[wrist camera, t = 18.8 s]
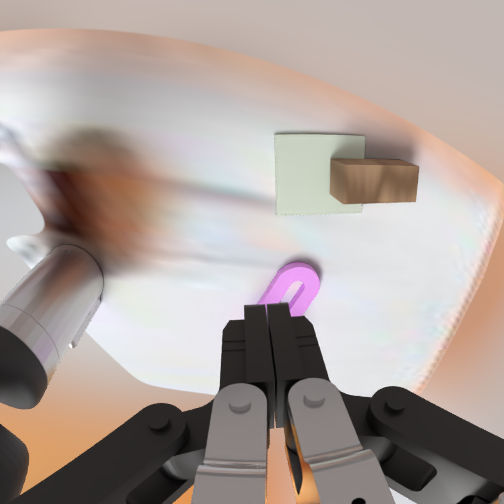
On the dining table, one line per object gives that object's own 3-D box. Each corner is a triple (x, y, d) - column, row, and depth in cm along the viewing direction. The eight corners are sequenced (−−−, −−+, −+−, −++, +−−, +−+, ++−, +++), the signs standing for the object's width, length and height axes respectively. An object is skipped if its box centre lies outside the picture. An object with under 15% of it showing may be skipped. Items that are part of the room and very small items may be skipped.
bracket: (274, 344, 44) (279, 379, 38) (239, 331, 43) (239, 367, 36) (325, 272, 39) (340, 303, 33) (288, 254, 38) (297, 284, 32)
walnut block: (329, 194, 34) (397, 192, 35) (343, 204, 30) (415, 201, 31) (330, 158, 32) (400, 159, 33) (344, 164, 29) (419, 166, 29)
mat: (360, 212, 36) (361, 213, 35) (276, 214, 36) (276, 215, 35) (363, 135, 32) (365, 136, 32) (274, 134, 32) (274, 134, 31)
